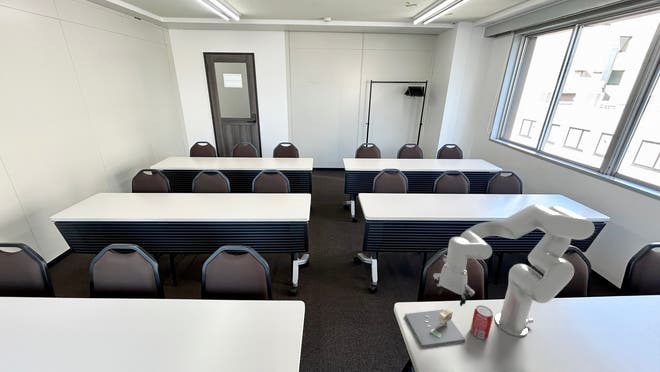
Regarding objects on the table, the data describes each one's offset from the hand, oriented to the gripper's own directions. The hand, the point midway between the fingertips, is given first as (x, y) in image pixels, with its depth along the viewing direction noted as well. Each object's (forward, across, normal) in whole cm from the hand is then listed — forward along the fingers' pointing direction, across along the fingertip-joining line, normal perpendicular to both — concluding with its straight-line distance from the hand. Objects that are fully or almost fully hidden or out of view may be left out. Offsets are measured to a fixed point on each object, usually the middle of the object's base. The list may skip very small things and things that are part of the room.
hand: (450, 298), depth 116 cm
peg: (+14, -2, -4) cm, 15 cm away
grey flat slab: (+16, -4, -5) cm, 17 cm away
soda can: (+17, +12, +7) cm, 22 cm away
